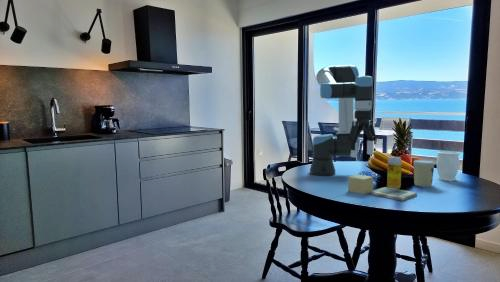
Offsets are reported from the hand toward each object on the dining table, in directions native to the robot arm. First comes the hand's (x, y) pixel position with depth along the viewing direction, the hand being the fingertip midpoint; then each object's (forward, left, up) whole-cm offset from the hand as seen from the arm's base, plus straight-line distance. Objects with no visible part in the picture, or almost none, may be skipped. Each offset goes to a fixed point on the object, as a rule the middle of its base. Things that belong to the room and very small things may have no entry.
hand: (362, 155), depth 155 cm
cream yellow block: (0, 0, -17) cm, 17 cm away
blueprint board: (+13, +5, -17) cm, 22 cm away
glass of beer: (+7, +18, -17) cm, 25 cm away
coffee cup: (+14, +34, -17) cm, 40 cm away
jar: (+17, +56, -17) cm, 61 cm away
